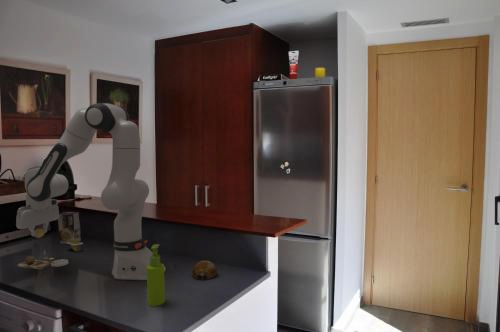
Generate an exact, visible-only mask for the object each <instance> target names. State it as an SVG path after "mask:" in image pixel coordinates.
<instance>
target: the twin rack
mask: <svg viewBox="0 0 500 332" xmlns="http://www.w3.org/2000/svg"><path fill="white" fill-rule="evenodd" d="M51 263H53V264H54V262H53V261H46V260H39V259H38V260H37V259H35V262H34V263H33V264H32V265H27V264H26V263H25V261H24V262H23V261H22V262H20V263H18V264H17V265H16V266H17V268H25V269H33V270H34V269H35V270H43V269H45V268H48V267H52V266H51Z"/></svg>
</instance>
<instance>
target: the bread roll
mask: <svg viewBox="0 0 500 332" xmlns="http://www.w3.org/2000/svg"><path fill="white" fill-rule="evenodd" d="M217 271H218V269H217V267H216V265H215V264H214V263H213V262H212V261H210V260H200V261H199V262H197V263H196V264H195V265H194V266H193V268H192V277H193V278H194V279H195V280H201V281H203V280H210V279H213V278H215V276H216V275H217V274H218V273H217Z"/></svg>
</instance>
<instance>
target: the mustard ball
mask: <svg viewBox="0 0 500 332" xmlns="http://www.w3.org/2000/svg"><path fill="white" fill-rule="evenodd" d="M34 230H35V231H36V232H37V235H36V236H34V237H36V238H38V239H40V238H42V237H43V236H44V235H45V233H44V230H43V228H35V229H34Z"/></svg>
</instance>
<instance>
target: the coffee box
mask: <svg viewBox="0 0 500 332" xmlns="http://www.w3.org/2000/svg"><path fill="white" fill-rule="evenodd" d="M80 221H81V219H80V211H63V212H61V213H59V218H58V219H57V222H58V223H57V224H58V236H59V244H64V245H66V244H68V243H67V242H68V241H69V239H72V238H74V239H78V240H79V242H82V236H81V222H80ZM68 245H69V244H68Z"/></svg>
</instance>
